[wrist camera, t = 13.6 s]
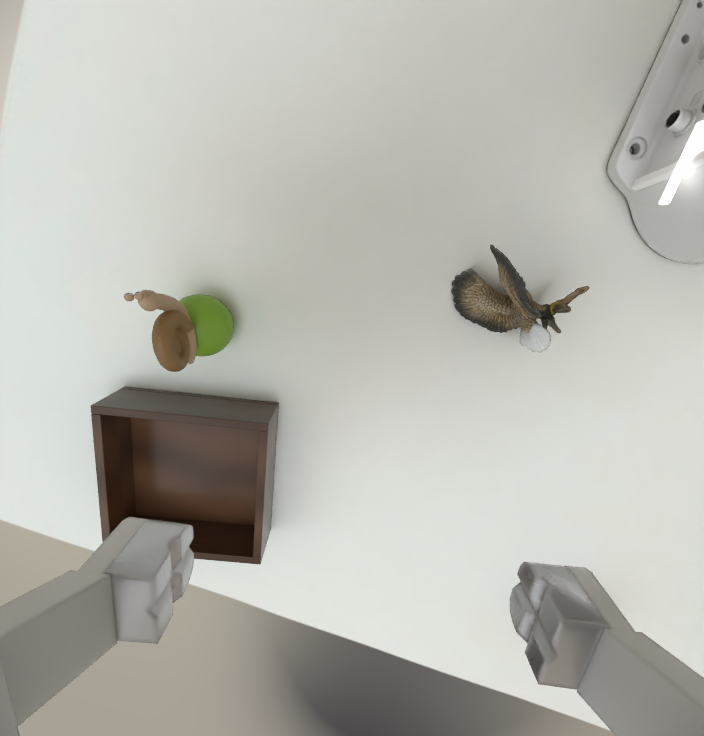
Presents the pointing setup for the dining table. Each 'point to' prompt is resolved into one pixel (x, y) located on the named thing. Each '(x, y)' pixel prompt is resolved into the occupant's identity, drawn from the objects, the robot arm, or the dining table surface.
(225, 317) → the snail figurine
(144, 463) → the crate
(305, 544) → the dining table surface
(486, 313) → the eagle figurine
